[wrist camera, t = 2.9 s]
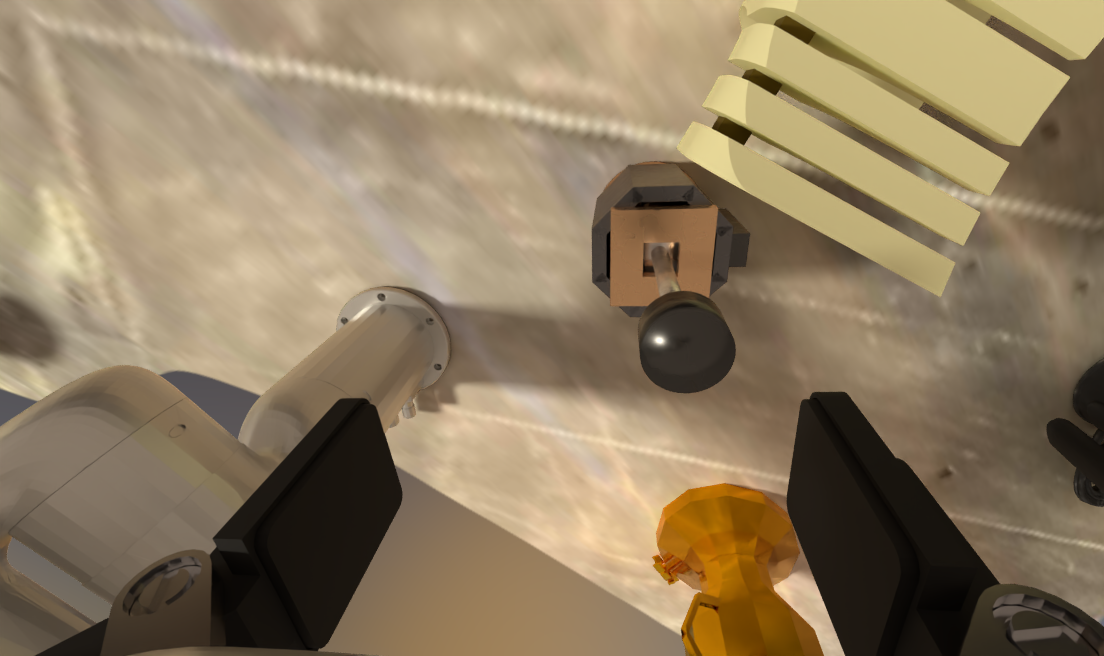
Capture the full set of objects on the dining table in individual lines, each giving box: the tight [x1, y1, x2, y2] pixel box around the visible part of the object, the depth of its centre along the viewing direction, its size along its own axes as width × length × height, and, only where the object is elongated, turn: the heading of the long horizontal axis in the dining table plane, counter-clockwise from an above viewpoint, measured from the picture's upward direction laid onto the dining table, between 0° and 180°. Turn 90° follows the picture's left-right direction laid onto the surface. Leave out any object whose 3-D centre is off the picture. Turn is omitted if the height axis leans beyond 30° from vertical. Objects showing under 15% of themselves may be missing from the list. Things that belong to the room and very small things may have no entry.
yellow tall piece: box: [652, 483, 824, 656], centre depth 48 cm, size 18×24×28 cm
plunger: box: [638, 242, 736, 393], centre depth 28 cm, size 6×6×15 cm
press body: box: [592, 161, 750, 317], centre depth 38 cm, size 10×11×13 cm
